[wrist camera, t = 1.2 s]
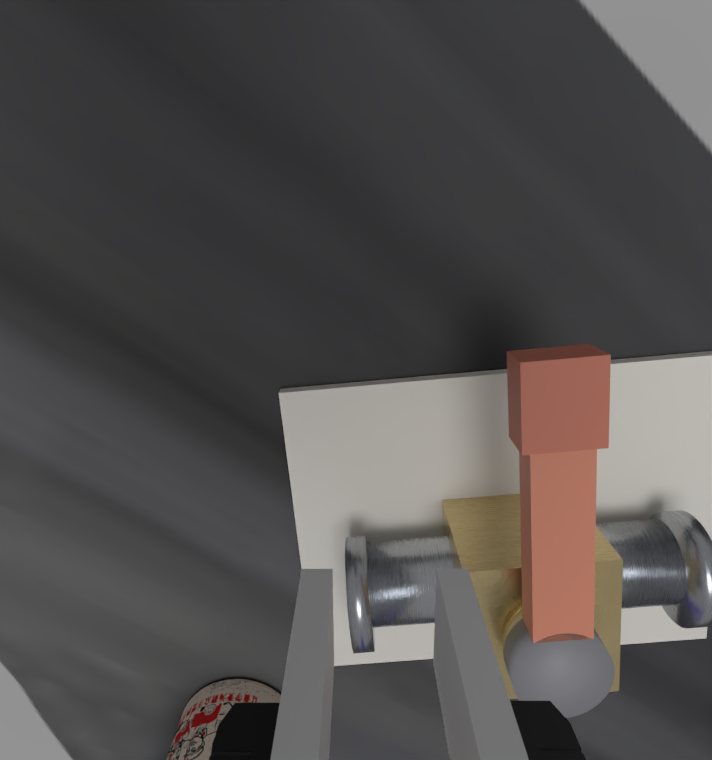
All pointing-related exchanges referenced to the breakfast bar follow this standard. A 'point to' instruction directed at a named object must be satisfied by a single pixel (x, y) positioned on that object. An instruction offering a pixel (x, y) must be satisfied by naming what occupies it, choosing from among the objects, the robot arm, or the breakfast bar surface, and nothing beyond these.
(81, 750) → the breakfast bar surface
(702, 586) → the valve body
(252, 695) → the teacup with lid
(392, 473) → the mounting board
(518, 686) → the lever
